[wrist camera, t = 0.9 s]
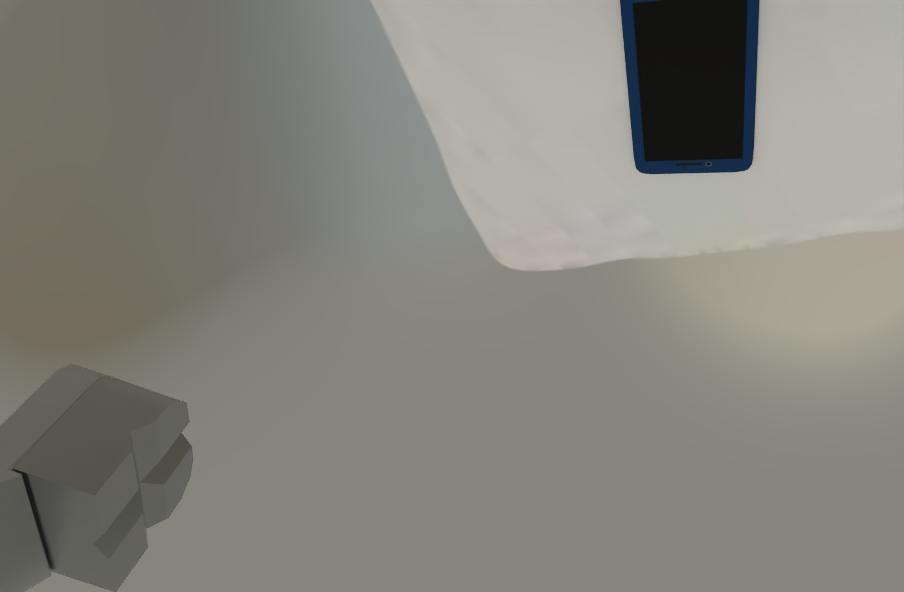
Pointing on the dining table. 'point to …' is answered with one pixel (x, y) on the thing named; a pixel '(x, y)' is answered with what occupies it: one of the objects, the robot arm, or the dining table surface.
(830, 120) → the dining table surface
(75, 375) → the robot arm
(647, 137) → the cell phone
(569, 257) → the dining table surface
